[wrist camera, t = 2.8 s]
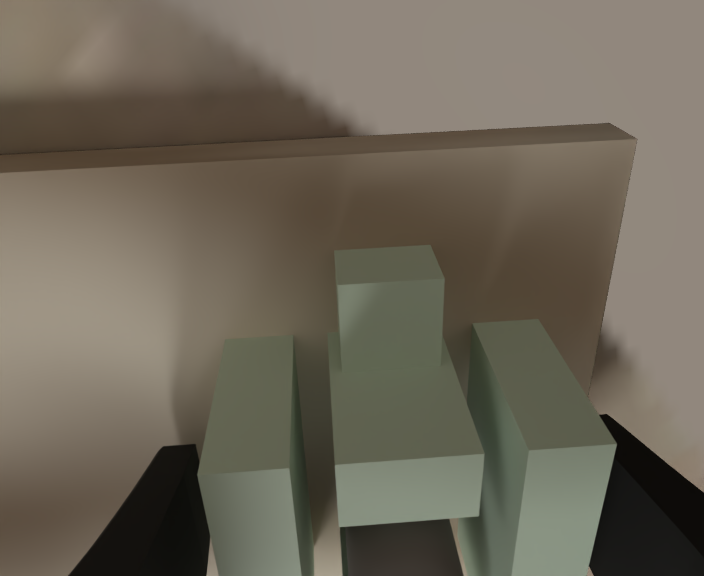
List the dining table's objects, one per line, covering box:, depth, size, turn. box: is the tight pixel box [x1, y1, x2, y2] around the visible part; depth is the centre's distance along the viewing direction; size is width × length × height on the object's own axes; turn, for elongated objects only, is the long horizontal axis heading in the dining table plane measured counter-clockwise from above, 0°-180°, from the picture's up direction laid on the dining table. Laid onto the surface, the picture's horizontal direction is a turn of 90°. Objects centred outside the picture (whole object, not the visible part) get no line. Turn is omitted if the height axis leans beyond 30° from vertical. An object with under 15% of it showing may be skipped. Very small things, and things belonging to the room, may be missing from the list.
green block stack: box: [197, 245, 617, 576], centre depth 11 cm, size 7×6×3 cm
